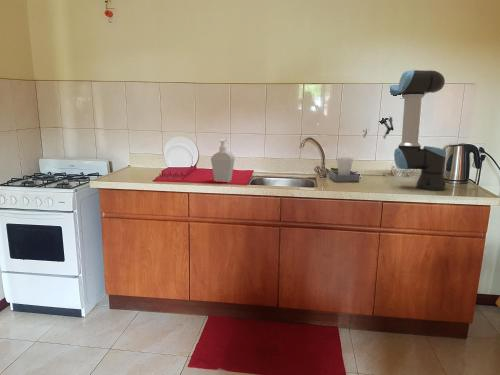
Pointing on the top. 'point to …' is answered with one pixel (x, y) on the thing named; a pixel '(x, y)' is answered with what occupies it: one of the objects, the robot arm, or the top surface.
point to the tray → (344, 177)
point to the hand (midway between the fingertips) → (373, 137)
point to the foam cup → (344, 165)
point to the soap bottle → (222, 164)
